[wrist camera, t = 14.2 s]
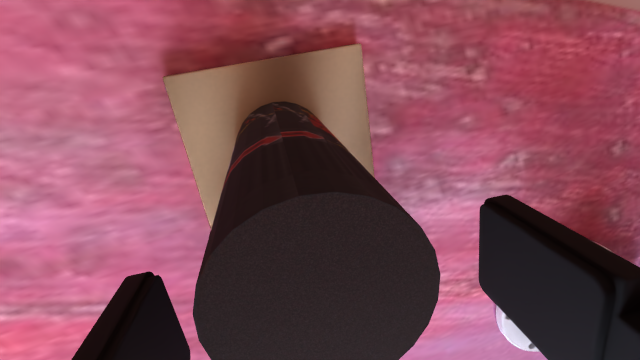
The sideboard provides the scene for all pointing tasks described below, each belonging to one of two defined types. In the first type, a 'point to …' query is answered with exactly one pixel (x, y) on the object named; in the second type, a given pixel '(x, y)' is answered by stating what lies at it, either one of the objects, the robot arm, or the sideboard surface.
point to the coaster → (260, 89)
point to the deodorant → (309, 252)
